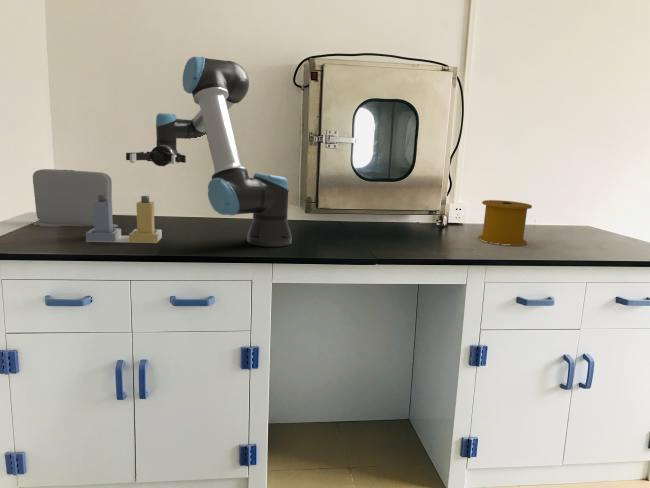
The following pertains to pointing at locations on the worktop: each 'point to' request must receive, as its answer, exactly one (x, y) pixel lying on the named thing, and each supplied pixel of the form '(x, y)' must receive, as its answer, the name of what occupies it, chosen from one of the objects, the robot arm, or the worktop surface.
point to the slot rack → (117, 237)
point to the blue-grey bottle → (103, 215)
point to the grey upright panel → (68, 196)
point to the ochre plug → (145, 216)
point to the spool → (504, 222)
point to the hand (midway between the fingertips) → (151, 159)
